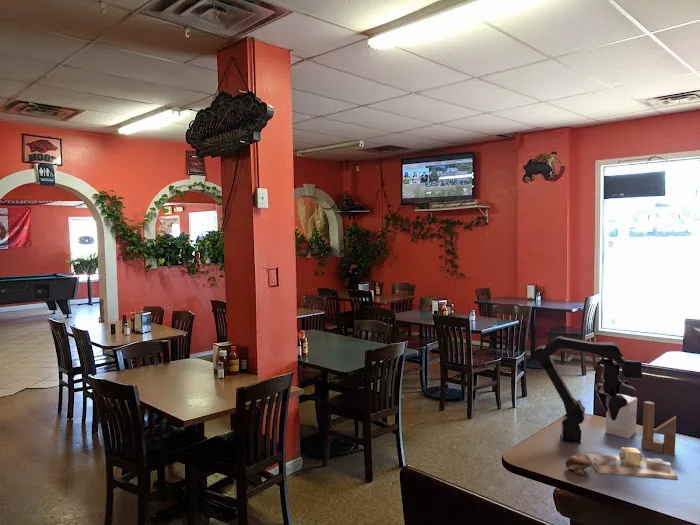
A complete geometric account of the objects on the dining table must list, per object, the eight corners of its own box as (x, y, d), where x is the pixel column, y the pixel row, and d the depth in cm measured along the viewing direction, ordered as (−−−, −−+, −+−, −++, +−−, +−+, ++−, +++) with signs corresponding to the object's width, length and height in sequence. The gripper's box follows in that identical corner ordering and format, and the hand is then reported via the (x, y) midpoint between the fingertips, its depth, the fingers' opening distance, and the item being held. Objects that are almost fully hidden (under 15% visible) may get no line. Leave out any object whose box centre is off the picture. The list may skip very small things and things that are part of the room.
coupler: (638, 462, 182) (638, 448, 182) (642, 467, 178) (643, 453, 178) (618, 460, 183) (618, 446, 183) (622, 465, 179) (622, 451, 179)
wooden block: (674, 456, 189) (676, 408, 188) (641, 449, 195) (642, 402, 194) (674, 452, 192) (676, 405, 191) (642, 445, 198) (643, 400, 197)
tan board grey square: (597, 472, 176) (597, 463, 176) (587, 456, 189) (587, 447, 189) (677, 478, 172) (677, 469, 172) (661, 461, 185) (661, 452, 185)
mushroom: (589, 471, 170) (584, 452, 174) (564, 475, 174) (560, 456, 178) (596, 475, 175) (591, 456, 179) (572, 478, 179) (568, 460, 183)
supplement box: (604, 432, 211) (605, 396, 210) (613, 426, 217) (614, 392, 216) (628, 439, 204) (629, 402, 203) (636, 433, 211) (637, 397, 210)
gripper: (643, 384, 185) (641, 426, 186) (625, 370, 203) (624, 408, 205) (610, 382, 187) (608, 424, 188) (595, 369, 206) (594, 407, 207)
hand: (609, 416), depth 197 cm, fingers open, 9 cm apart
